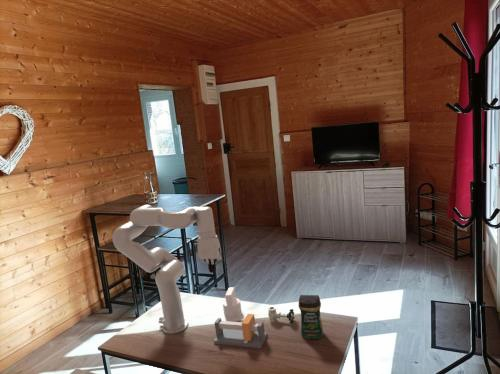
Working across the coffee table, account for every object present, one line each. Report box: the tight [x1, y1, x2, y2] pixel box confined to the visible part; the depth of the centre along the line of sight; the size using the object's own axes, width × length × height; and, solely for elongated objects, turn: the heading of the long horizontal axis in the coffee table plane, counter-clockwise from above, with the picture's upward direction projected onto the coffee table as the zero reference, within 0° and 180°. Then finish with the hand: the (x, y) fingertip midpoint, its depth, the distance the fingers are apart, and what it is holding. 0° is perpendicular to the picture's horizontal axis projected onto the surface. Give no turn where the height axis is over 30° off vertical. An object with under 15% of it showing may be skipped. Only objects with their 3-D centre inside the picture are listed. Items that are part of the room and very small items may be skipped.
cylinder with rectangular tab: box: [222, 286, 242, 318], centre depth 194 cm, size 9×9×12 cm
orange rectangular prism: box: [241, 313, 256, 341], centre depth 167 cm, size 3×8×8 cm, turn 160°
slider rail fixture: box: [213, 317, 268, 349], centre depth 169 cm, size 22×10×8 cm, turn 70°
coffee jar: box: [298, 294, 324, 340], centre depth 165 cm, size 10×8×19 cm
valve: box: [267, 306, 295, 324], centre depth 180 cm, size 7×7×12 cm
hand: (212, 271), depth 176 cm, fingers closed
